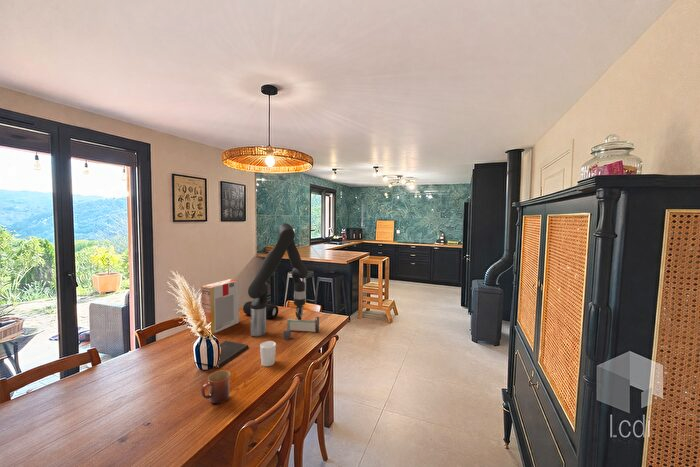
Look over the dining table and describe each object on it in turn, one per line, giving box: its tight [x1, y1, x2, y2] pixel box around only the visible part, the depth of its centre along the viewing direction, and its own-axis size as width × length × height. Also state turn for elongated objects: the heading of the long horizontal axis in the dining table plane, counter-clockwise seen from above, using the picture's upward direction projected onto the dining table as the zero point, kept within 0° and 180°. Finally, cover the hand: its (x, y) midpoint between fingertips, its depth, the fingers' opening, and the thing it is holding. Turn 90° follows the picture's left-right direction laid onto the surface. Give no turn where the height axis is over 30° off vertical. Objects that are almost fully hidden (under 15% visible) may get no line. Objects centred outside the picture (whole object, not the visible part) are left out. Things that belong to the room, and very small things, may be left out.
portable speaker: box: [242, 300, 280, 319], centre depth 215 cm, size 26×10×10 cm, turn 71°
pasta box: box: [200, 278, 240, 335], centre depth 192 cm, size 23×8×30 cm, turn 156°
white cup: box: [259, 340, 277, 367], centre depth 148 cm, size 8×8×10 cm
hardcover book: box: [216, 340, 249, 369], centre depth 156 cm, size 16×23×2 cm
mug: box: [200, 369, 232, 404], centre depth 118 cm, size 12×9×10 cm
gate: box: [286, 318, 315, 333], centre depth 189 cm, size 18×2×7 cm, turn 85°
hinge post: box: [314, 316, 320, 334], centre depth 188 cm, size 2×2×10 cm
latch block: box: [282, 329, 292, 340], centre depth 178 cm, size 4×2×5 cm, turn 112°
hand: (299, 322), depth 192 cm, fingers closed
